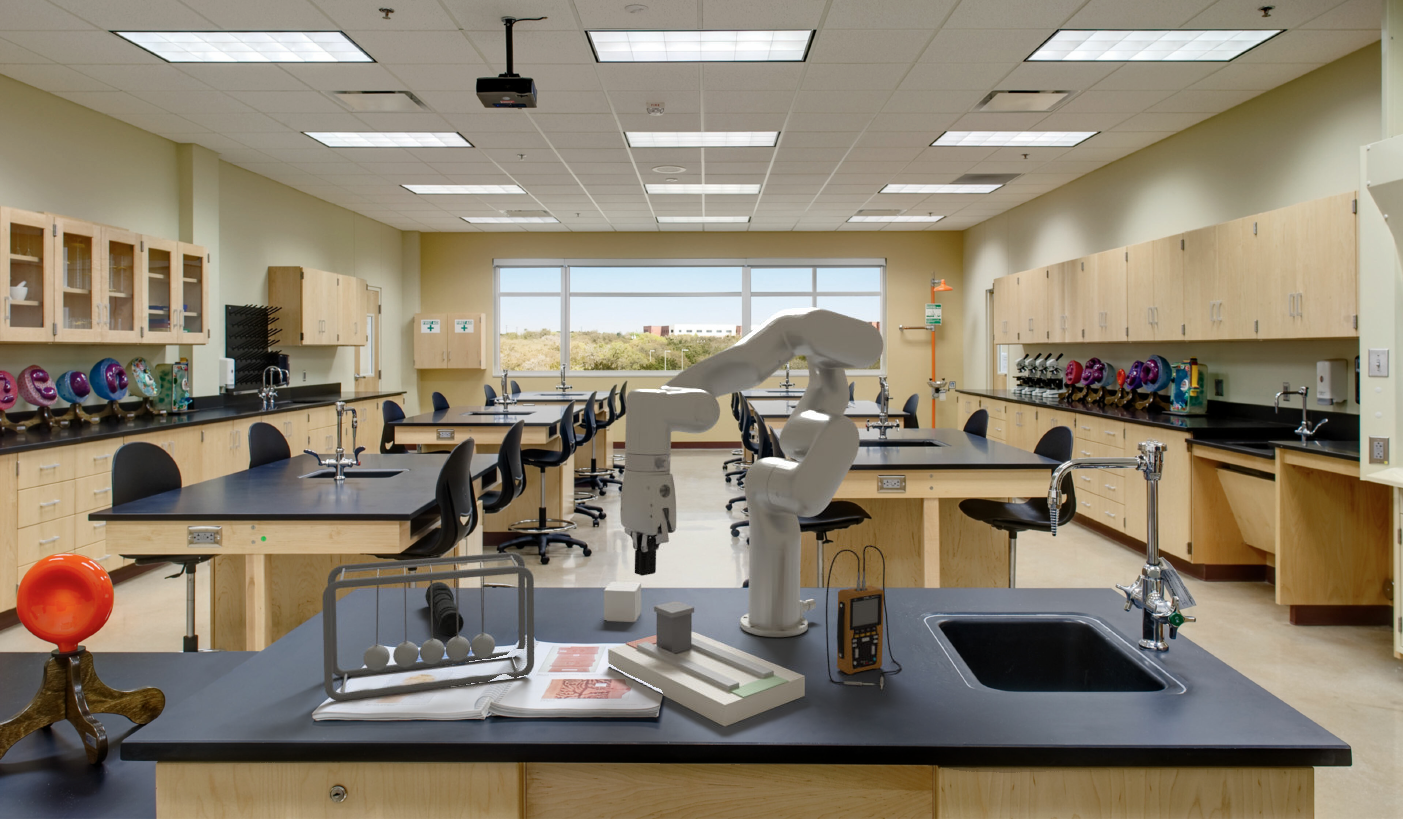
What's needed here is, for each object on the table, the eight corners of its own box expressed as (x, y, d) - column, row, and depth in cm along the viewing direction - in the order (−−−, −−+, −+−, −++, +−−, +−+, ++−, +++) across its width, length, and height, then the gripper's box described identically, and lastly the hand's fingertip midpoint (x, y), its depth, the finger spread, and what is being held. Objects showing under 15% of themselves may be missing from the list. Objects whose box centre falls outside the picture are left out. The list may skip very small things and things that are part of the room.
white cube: (604, 621, 157) (603, 590, 157) (611, 611, 163) (610, 581, 163) (635, 622, 157) (635, 591, 156) (641, 612, 163) (641, 582, 162)
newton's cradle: (324, 704, 119) (321, 582, 118) (330, 677, 129) (327, 565, 128) (534, 677, 129) (534, 565, 128) (525, 655, 139) (524, 550, 138)
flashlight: (450, 604, 168) (450, 580, 168) (466, 636, 149) (466, 608, 149) (424, 607, 166) (424, 582, 165) (437, 639, 147) (437, 612, 147)
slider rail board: (684, 645, 144) (684, 623, 144) (804, 695, 123) (804, 670, 123) (608, 667, 134) (608, 644, 134) (724, 726, 113) (724, 699, 112)
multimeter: (856, 697, 123) (859, 564, 121) (817, 674, 132) (819, 549, 130) (932, 679, 129) (935, 553, 128) (889, 659, 138) (892, 540, 137)
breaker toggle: (676, 641, 137) (676, 600, 136) (694, 648, 133) (694, 607, 133) (653, 647, 134) (654, 606, 133) (671, 655, 130) (671, 613, 130)
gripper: (694, 467, 134) (691, 579, 135) (639, 458, 145) (636, 561, 146) (657, 470, 129) (654, 586, 130) (603, 460, 140) (601, 567, 141)
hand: (645, 573), depth 138 cm, fingers closed
